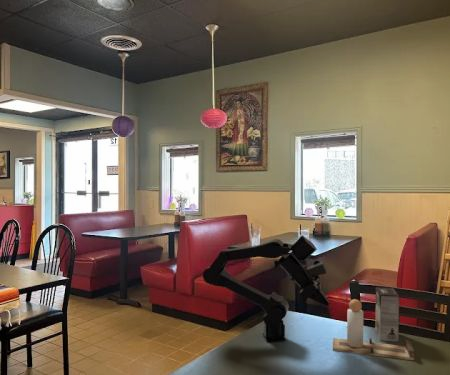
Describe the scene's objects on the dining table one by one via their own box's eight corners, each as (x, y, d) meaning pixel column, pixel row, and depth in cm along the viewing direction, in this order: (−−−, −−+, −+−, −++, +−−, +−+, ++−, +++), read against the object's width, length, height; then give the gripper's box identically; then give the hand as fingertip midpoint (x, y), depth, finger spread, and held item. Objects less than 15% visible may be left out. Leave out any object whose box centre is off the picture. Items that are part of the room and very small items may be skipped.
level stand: (332, 350, 125) (332, 342, 125) (333, 339, 133) (333, 331, 133) (414, 360, 118) (414, 351, 118) (409, 348, 126) (409, 340, 126)
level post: (347, 346, 125) (347, 301, 125) (347, 340, 130) (347, 296, 130) (363, 348, 124) (363, 302, 124) (362, 341, 129) (363, 297, 128)
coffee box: (374, 330, 142) (375, 286, 141) (393, 331, 140) (393, 287, 140) (379, 340, 133) (379, 294, 132) (399, 342, 131) (399, 295, 131)
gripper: (310, 259, 121) (346, 297, 118) (314, 248, 139) (346, 281, 136) (284, 282, 124) (320, 320, 121) (292, 269, 142) (323, 301, 139)
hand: (328, 304), depth 129 cm, fingers closed
